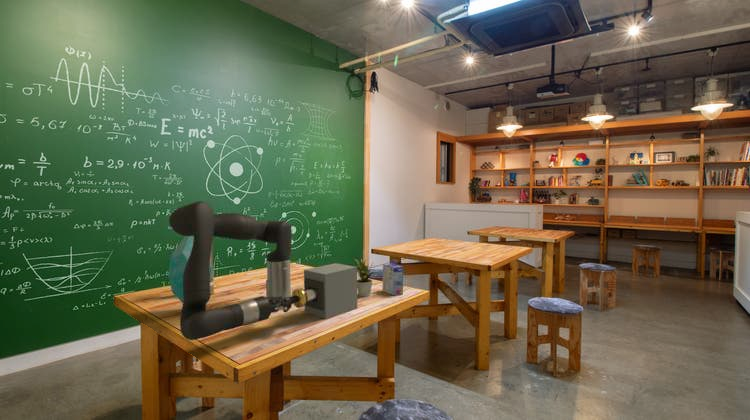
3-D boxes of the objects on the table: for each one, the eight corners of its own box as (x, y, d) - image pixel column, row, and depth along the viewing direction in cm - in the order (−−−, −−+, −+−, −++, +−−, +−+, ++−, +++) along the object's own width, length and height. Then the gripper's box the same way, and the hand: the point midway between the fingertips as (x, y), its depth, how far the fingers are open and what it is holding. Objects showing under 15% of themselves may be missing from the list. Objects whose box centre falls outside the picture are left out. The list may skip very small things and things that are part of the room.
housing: (325, 319, 130) (325, 274, 129) (304, 312, 138) (303, 269, 137) (357, 308, 142) (356, 267, 141) (336, 302, 150) (335, 263, 149)
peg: (303, 309, 126) (302, 291, 126) (291, 305, 130) (291, 287, 130) (335, 299, 137) (334, 282, 137) (323, 296, 141) (323, 280, 141)
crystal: (166, 313, 138) (162, 233, 137) (202, 304, 149) (199, 230, 148) (181, 319, 131) (178, 235, 129) (218, 309, 142) (215, 232, 140)
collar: (322, 310, 130) (321, 282, 130) (304, 305, 137) (304, 278, 136) (323, 310, 131) (323, 282, 130) (306, 304, 137) (305, 278, 137)
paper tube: (200, 292, 167) (198, 237, 165) (216, 292, 167) (214, 237, 166) (194, 296, 160) (192, 239, 159) (210, 296, 160) (208, 239, 159)
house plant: (338, 294, 162) (338, 257, 161) (363, 288, 171) (362, 253, 170) (359, 301, 151) (359, 261, 150) (384, 294, 160) (384, 257, 159)
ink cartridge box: (404, 294, 161) (403, 261, 160) (393, 296, 158) (392, 262, 157) (392, 289, 169) (392, 257, 169) (382, 290, 167) (381, 259, 166)
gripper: (263, 303, 111) (309, 291, 124) (240, 295, 119) (285, 284, 132) (263, 327, 111) (309, 313, 124) (241, 318, 120) (286, 305, 133)
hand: (297, 298), depth 128 cm, fingers closed
